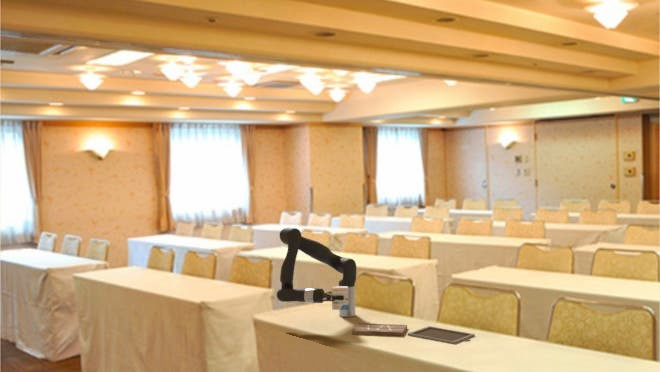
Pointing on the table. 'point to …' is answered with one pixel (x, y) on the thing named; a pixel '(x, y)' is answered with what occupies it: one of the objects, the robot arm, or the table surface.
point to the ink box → (340, 303)
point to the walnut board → (379, 329)
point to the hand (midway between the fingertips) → (344, 296)
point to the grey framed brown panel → (441, 335)
